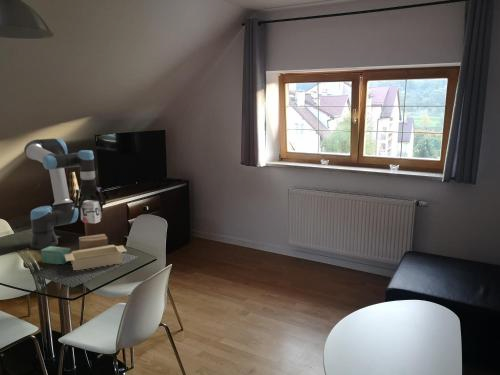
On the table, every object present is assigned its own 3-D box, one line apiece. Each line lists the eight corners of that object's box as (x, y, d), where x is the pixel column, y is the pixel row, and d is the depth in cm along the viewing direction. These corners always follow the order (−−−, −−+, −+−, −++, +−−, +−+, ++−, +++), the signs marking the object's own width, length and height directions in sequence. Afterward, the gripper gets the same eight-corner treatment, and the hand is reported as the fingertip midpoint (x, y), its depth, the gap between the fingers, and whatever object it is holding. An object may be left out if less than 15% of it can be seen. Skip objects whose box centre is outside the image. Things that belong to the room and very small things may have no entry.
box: (62, 265, 220) (61, 251, 218) (41, 263, 223) (39, 250, 222) (72, 260, 227) (70, 247, 225) (51, 258, 230) (49, 245, 229)
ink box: (82, 222, 231) (80, 201, 228) (88, 220, 235) (86, 200, 233) (95, 223, 228) (93, 202, 226) (100, 221, 233) (99, 200, 231)
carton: (64, 263, 222) (63, 249, 221) (121, 253, 236) (120, 240, 235) (67, 274, 206) (66, 260, 205) (129, 263, 220) (128, 249, 219)
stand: (80, 254, 236) (78, 237, 234) (105, 250, 243) (104, 233, 241) (82, 259, 228) (80, 242, 226) (108, 255, 234) (107, 238, 232)
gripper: (67, 181, 219) (71, 222, 223) (109, 177, 229) (112, 217, 233) (65, 179, 225) (69, 219, 230) (107, 176, 236) (110, 214, 240)
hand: (91, 218), depth 231 cm, fingers closed on ink box, 9 cm apart
